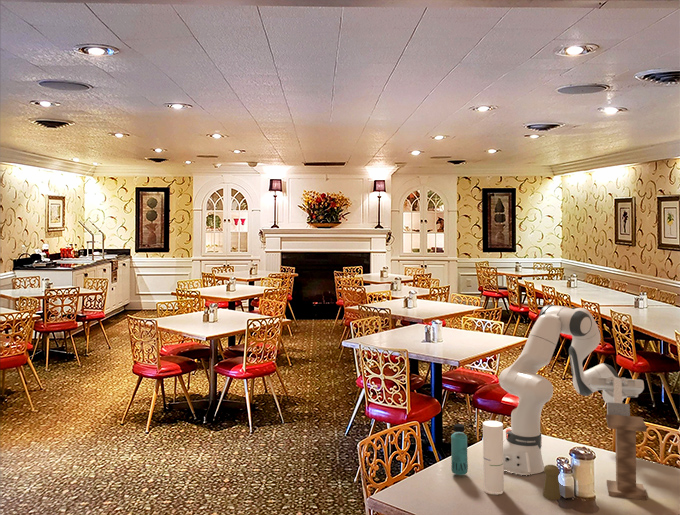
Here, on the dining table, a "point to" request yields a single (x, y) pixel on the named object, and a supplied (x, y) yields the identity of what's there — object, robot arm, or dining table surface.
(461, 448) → the beverage bottle
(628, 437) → the stand
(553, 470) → the olive shaker
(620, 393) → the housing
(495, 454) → the cylindrical container
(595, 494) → the dining table surface
